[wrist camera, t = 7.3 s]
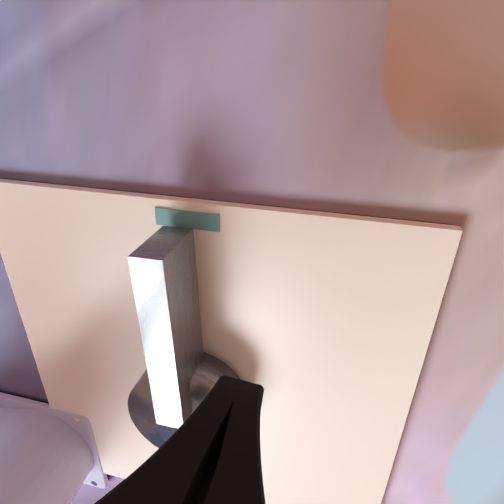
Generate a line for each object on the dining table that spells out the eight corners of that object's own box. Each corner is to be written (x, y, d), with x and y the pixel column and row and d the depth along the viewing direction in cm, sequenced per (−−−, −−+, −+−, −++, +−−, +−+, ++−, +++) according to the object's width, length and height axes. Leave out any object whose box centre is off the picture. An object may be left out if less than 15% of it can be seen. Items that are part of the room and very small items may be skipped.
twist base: (72, 457, 29) (67, 464, 29) (-15, 176, 19) (-25, 180, 18) (368, 537, 25) (368, 547, 24) (459, 225, 15) (463, 232, 14)
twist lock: (248, 437, 22) (233, 493, 19) (153, 417, 23) (126, 466, 20) (246, 231, 16) (223, 267, 13) (118, 219, 17) (73, 250, 14)
